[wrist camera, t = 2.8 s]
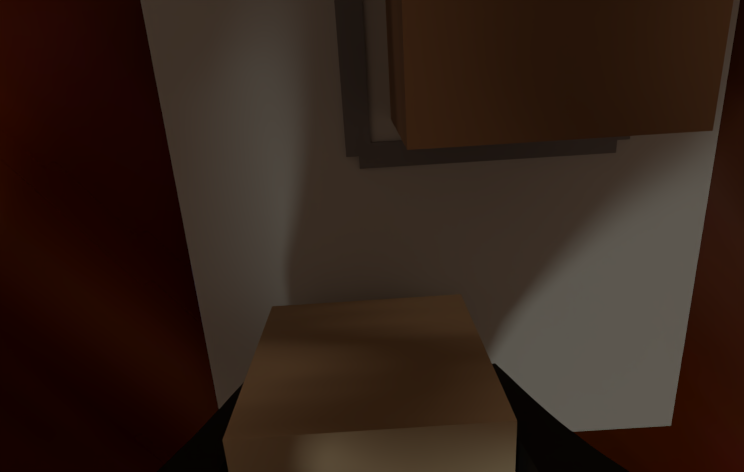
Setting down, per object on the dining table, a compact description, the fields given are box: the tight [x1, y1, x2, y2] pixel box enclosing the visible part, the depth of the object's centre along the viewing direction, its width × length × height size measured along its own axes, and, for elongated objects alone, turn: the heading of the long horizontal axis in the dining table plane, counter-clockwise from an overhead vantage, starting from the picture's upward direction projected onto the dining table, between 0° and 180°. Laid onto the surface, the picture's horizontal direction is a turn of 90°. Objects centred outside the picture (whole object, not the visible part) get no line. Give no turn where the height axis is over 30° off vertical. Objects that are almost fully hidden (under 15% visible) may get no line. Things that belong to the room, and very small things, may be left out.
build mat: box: [141, 0, 740, 432], centre depth 12 cm, size 13×16×1 cm
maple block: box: [223, 294, 517, 472], centre depth 10 cm, size 4×4×4 cm
